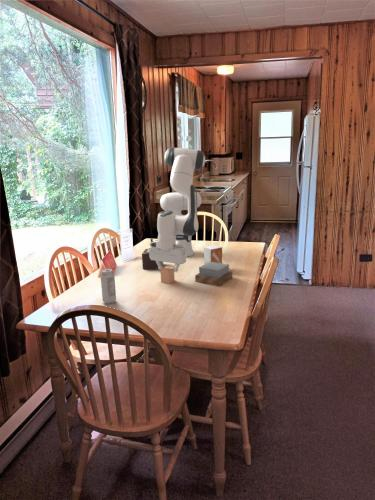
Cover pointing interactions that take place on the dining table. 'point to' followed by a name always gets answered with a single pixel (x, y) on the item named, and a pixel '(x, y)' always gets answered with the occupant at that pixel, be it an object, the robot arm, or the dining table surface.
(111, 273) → the energy drink can
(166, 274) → the pillar block
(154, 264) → the pepper mill
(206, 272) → the grey square slab
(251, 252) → the dining table surface
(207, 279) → the tower base
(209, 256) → the small box
